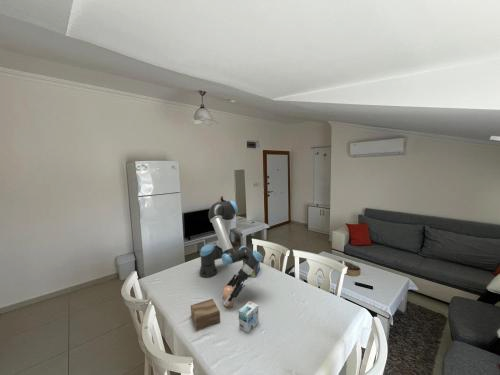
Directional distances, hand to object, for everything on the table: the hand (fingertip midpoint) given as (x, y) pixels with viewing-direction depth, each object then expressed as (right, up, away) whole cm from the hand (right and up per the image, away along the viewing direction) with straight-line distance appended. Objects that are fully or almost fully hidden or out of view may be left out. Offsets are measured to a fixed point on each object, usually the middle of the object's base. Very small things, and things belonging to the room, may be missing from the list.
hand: (223, 301), depth 141 cm
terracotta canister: (+3, -3, +2) cm, 5 cm away
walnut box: (-10, -5, -10) cm, 15 cm away
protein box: (+19, +2, +44) cm, 48 cm away
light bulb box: (+17, -5, -16) cm, 24 cm away
